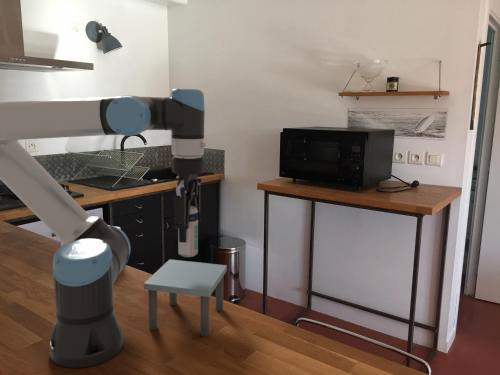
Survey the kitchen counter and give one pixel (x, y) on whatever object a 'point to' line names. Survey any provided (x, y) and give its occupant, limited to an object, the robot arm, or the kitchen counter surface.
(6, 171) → the robot arm
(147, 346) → the kitchen counter surface
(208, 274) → the pale blue square-topped fixture
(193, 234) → the beer can
